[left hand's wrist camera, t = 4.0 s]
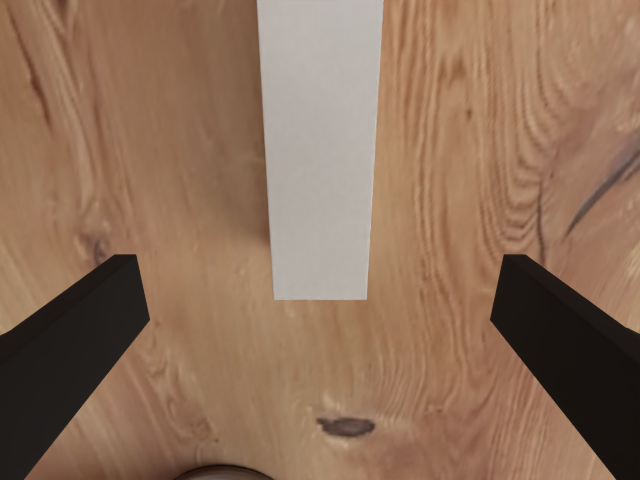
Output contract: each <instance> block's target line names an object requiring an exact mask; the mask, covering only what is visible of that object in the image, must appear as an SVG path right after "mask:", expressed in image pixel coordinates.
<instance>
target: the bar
mask: <svg viewBox="0 0 640 480" xmlns="http://www.w3.org/2000/svg"><path fill="white" fill-rule="evenodd" d="M383 1H384V0H256V4H257V22H258V39H259V57H260V74H261V92H262V110H263V127H264V145H265V162H266V180H267V197H268V215H269V233H270V250H271V268H272V285H273V299H274V300H366V299H367V283H368V265H369V247H370V230H371V212H372V195H373V177H374V159H375V142H376V124H377V107H378V89H379V71H380V54H381V36H382V19H383Z"/></svg>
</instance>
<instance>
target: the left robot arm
mask: <svg viewBox="0 0 640 480" xmlns="http://www.w3.org/2000/svg"><path fill="white" fill-rule="evenodd" d="M149 321H150V317H149V313H148V308H147V303H146V299H145V294H144V289H143V284H142V280H141V275H140V270H139V266H138V261H137V256H136V254H115V255H113V256H112V257H110V258H109V259H108V260H106V261H105V262H104V263H102V264H101V265H100V266H98V267H97V268H95V269H94V270H93V271H91V272H90V273H89V274H87V275H86V276H84V277H83V278H82V279H80V280H79V281H78V282H76V283H75V284H73V285H72V286H71V287H69V288H68V289H67V290H65V291H64V292H62V293H61V294H60V295H58V296H57V297H56V298H54V299H53V300H51V301H50V302H49V303H47V304H46V305H45V306H43V307H42V308H41V309H39V310H38V311H36V312H35V313H34V314H32V315H31V316H30V317H28V318H27V319H25V320H24V321H23V322H21V323H20V324H19V325H17V326H16V327H14V328H13V329H12V330H10V331H8V332H6V333H4V334H2V335H0V480H24V479H25V477H26V476H27V475H28V474H29V472H30V471H31V470H32V469H33V467H34V466H35V465H36V463H37V462H38V461H39V460H40V458H41V457H42V456H43V455H44V453H45V452H46V451H47V450H48V448H49V447H50V446H51V445H52V443H53V442H54V441H55V439H56V438H57V437H58V436H59V434H60V433H61V432H62V431H63V429H64V428H65V427H66V426H67V424H68V423H69V422H70V420H71V419H72V418H73V417H74V415H75V414H76V413H77V412H78V410H79V409H80V408H81V407H82V405H83V404H84V403H85V401H86V400H87V399H88V398H89V396H90V395H91V394H92V393H93V391H94V390H95V389H96V388H97V386H98V385H99V384H100V383H101V381H102V380H103V379H104V377H105V376H106V375H107V374H108V372H109V371H110V370H111V369H112V367H113V366H114V365H115V364H116V362H117V361H118V360H119V358H120V357H121V356H122V355H123V353H124V352H125V351H126V350H127V348H128V347H129V346H130V345H131V343H132V342H133V341H134V339H135V338H136V337H137V336H138V334H139V333H140V332H141V331H142V329H143V328H144V327H145V326H146V324H147V323H148V322H149ZM490 321H491V322H492V323H493V324H494V326H495V327H496V328H497V329H498V331H499V332H500V333H501V334H502V336H503V337H504V338H505V339H506V341H507V342H508V343H509V345H510V346H511V347H512V348H513V350H514V351H515V352H516V353H517V355H518V356H519V357H520V358H521V360H522V361H523V362H524V364H525V365H526V366H527V367H528V369H529V370H530V371H531V372H532V374H533V375H534V376H535V377H536V379H537V380H538V381H539V383H540V384H541V385H542V386H543V388H544V389H545V390H546V391H547V393H548V394H549V395H550V396H551V398H552V399H553V400H554V401H555V403H556V404H557V405H558V407H559V408H560V409H561V410H562V412H563V413H564V414H565V415H566V417H567V418H568V419H569V420H570V422H571V423H572V424H573V426H574V427H575V428H576V429H577V431H578V432H579V433H580V434H581V436H582V437H583V438H584V439H585V441H586V442H587V443H588V445H589V446H590V447H591V448H592V450H593V451H594V452H595V453H596V455H597V456H598V457H599V458H600V460H601V461H602V462H603V463H604V465H605V466H606V467H607V469H608V470H609V471H610V472H611V474H612V475H613V476H614V477H615V479H616V480H640V334H639V333H637V332H635V331H633V330H631V329H629V328H626V327H624V326H623V325H621V324H620V323H619V322H617V321H616V320H615V319H613V318H612V317H610V316H609V315H608V314H606V313H605V312H604V311H602V310H601V309H599V308H598V307H597V306H595V305H594V304H593V303H591V302H590V301H589V300H587V299H586V298H584V297H583V296H582V295H580V294H579V293H578V292H576V291H575V290H573V289H572V288H571V287H569V286H568V285H567V284H565V283H564V282H562V281H561V280H560V279H558V278H557V277H556V276H554V275H553V274H551V273H550V272H549V271H547V270H546V269H545V268H543V267H542V266H540V265H539V264H538V263H536V262H535V261H534V260H532V259H531V258H530V257H528V256H527V255H525V254H504V256H503V261H502V266H501V270H500V275H499V280H498V284H497V289H496V294H495V299H494V303H493V308H492V313H491V317H490ZM175 480H272V479H270V478H268V477H266V476H264V475H262V474H260V473H257V472H254V471H251V470H247V469H243V468H238V467H229V466H214V467H205V468H200V469H196V470H193V471H190V472H187V473H185V474H183V475H181V476H179V477H178V478H176V479H175Z"/></svg>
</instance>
